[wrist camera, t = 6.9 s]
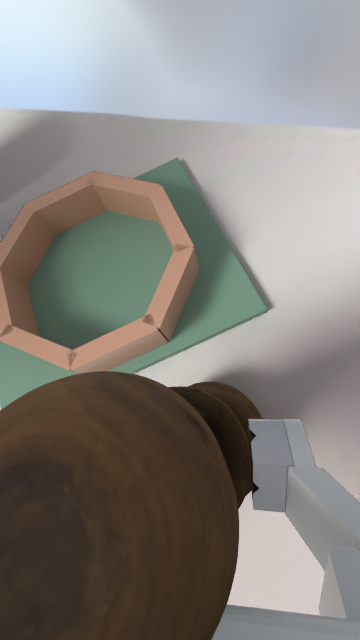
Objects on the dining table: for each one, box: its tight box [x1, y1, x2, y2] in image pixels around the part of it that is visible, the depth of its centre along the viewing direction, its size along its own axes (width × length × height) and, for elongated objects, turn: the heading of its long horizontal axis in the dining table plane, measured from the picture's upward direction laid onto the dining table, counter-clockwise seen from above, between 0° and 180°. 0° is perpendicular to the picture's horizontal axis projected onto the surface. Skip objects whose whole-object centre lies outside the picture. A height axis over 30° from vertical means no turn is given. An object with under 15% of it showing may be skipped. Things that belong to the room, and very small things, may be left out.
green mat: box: [0, 158, 267, 410], centre depth 24 cm, size 20×16×1 cm
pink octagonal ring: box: [0, 172, 199, 374], centre depth 22 cm, size 14×14×3 cm
